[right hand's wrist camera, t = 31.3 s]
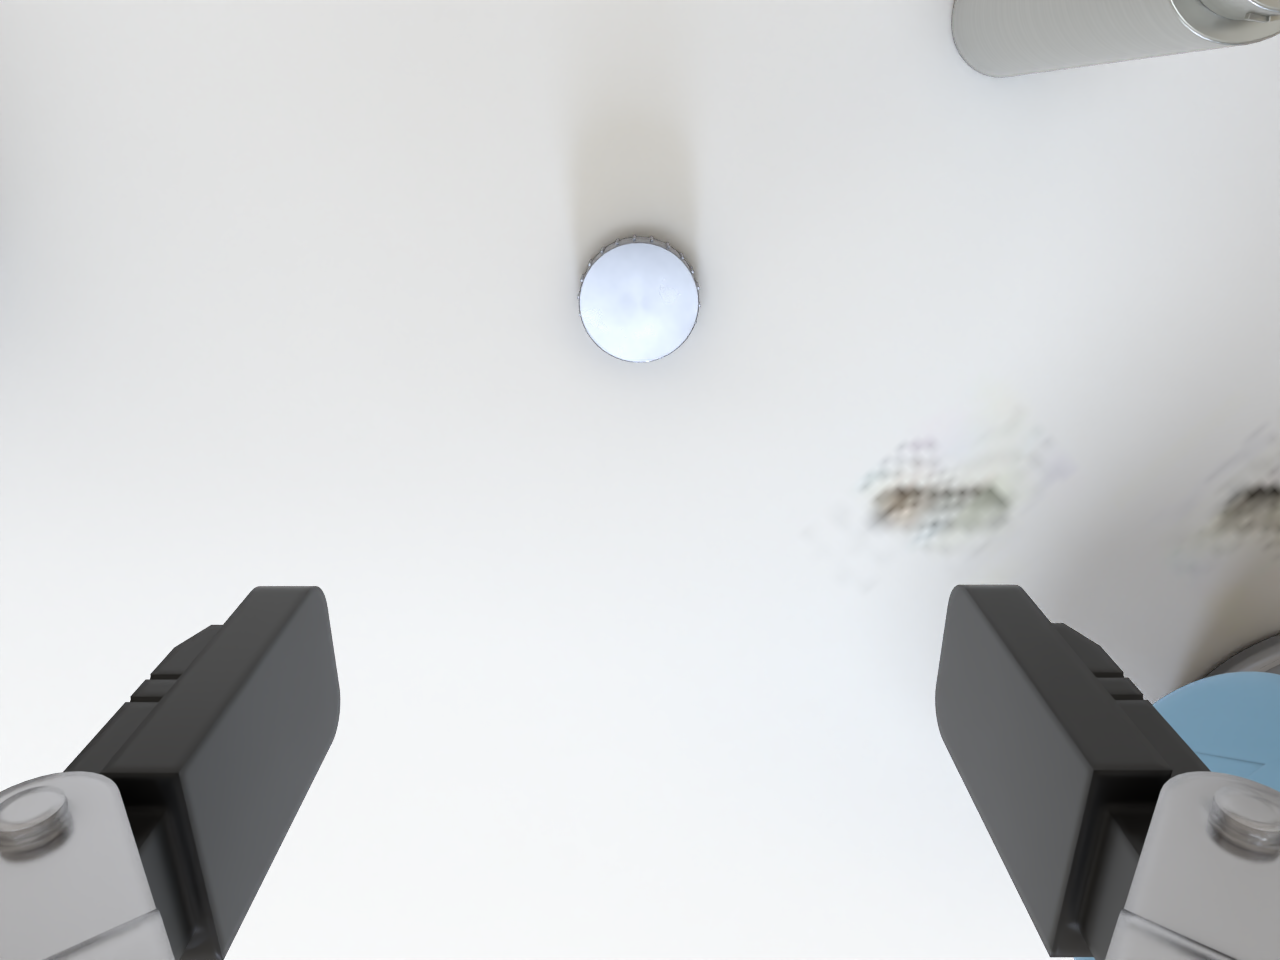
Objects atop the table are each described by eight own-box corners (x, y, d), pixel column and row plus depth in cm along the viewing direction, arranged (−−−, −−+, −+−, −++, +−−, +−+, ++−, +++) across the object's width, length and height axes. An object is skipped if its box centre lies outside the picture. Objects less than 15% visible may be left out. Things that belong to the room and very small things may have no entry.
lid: (650, 209, 35) (651, 213, 33) (721, 307, 36) (725, 316, 34) (555, 283, 36) (551, 291, 34) (628, 376, 37) (627, 388, 35)
